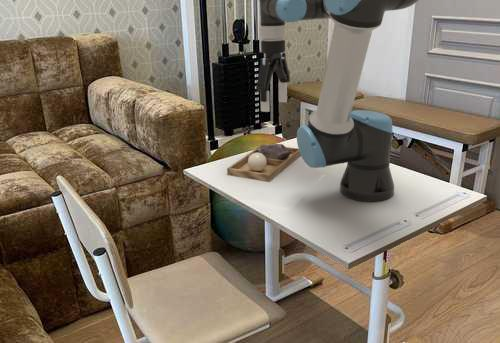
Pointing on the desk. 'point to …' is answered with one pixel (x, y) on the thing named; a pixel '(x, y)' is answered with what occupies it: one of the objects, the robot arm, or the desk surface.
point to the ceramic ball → (257, 161)
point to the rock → (274, 151)
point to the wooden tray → (268, 172)
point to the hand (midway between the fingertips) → (274, 106)
